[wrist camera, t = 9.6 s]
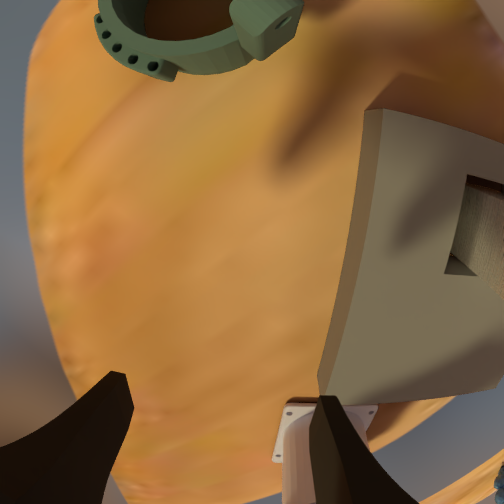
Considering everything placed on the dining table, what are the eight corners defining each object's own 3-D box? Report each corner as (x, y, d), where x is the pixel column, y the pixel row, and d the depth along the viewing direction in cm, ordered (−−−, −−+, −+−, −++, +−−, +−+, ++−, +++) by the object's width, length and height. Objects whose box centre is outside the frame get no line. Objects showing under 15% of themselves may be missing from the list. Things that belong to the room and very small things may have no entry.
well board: (481, 366, 22) (495, 388, 19) (317, 375, 22) (321, 405, 19) (547, 168, 15) (573, 176, 12) (364, 110, 15) (383, 108, 12)
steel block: (480, 245, 17) (553, 303, 10) (436, 240, 18) (509, 304, 10) (492, 188, 16) (576, 228, 9) (448, 178, 16) (536, 217, 9)
